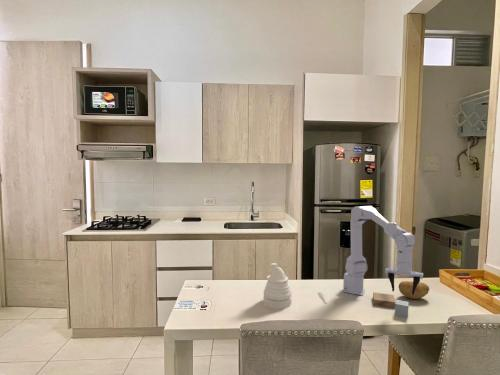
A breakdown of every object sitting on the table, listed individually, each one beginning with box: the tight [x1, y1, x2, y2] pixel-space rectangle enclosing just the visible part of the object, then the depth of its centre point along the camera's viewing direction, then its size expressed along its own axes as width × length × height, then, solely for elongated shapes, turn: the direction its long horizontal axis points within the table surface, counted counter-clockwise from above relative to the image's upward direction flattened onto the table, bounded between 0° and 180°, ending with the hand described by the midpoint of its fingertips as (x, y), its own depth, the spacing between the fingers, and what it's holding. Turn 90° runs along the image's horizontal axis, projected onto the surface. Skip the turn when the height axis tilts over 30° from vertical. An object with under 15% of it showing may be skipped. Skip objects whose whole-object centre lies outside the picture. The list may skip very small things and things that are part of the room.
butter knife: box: [317, 291, 328, 305], centre depth 150 cm, size 1×27×3 cm
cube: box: [394, 299, 409, 318], centre depth 140 cm, size 5×5×5 cm
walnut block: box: [372, 292, 396, 309], centre depth 152 cm, size 9×9×3 cm
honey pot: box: [262, 262, 293, 310], centre depth 150 cm, size 13×13×18 cm
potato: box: [398, 280, 430, 300], centre depth 158 cm, size 10×14×8 cm
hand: (403, 292), depth 140 cm, fingers open, 7 cm apart
